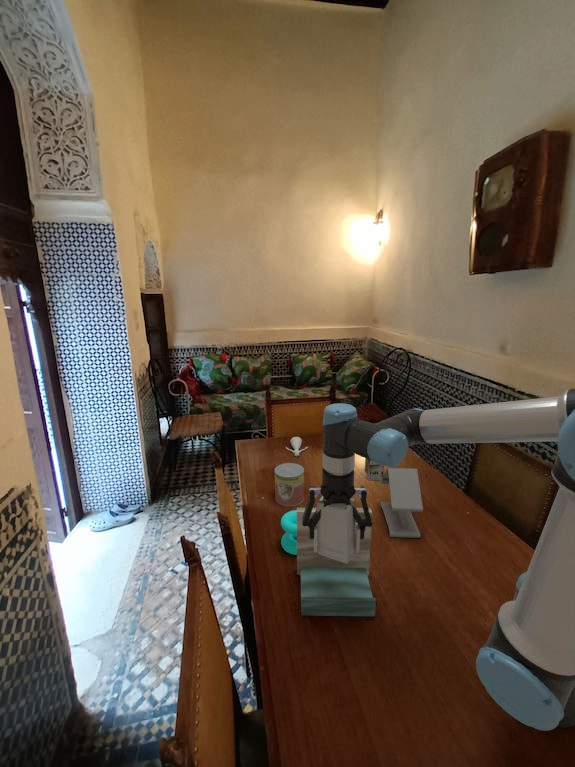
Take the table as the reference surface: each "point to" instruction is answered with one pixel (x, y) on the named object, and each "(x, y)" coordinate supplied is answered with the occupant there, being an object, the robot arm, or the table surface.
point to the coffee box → (373, 470)
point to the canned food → (289, 484)
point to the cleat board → (334, 577)
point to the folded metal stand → (402, 502)
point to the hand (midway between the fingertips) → (336, 548)
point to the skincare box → (336, 530)
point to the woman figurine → (296, 445)
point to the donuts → (290, 532)
